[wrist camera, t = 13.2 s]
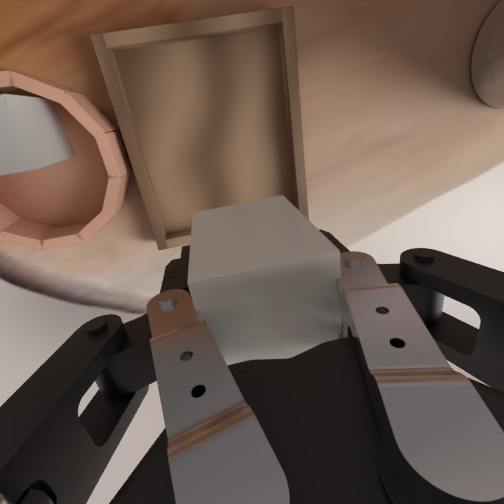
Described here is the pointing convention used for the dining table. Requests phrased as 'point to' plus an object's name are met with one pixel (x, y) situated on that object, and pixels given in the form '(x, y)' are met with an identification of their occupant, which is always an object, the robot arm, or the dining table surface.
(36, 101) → the light grey block
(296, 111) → the tray
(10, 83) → the bowl
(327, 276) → the white rectangular block
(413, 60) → the dining table surface
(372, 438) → the robot arm
